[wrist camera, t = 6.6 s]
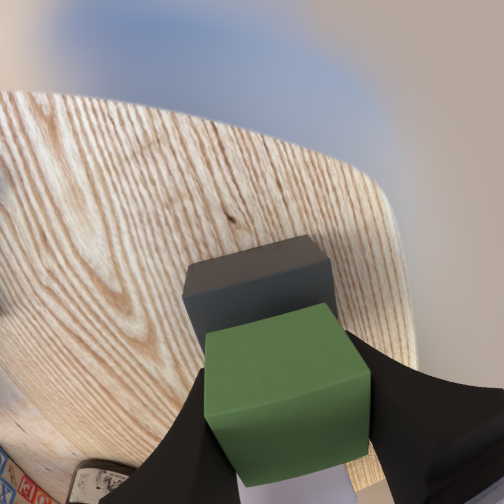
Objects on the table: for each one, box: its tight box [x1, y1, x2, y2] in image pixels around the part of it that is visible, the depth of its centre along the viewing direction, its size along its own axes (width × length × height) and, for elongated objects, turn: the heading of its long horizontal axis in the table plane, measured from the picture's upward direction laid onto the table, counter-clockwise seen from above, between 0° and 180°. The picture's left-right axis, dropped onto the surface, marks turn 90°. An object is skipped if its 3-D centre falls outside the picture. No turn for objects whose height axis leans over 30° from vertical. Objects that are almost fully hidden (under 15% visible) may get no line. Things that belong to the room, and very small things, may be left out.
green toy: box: [204, 303, 371, 488], centre depth 10 cm, size 4×4×4 cm
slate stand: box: [182, 235, 338, 356], centre depth 15 cm, size 6×6×4 cm
